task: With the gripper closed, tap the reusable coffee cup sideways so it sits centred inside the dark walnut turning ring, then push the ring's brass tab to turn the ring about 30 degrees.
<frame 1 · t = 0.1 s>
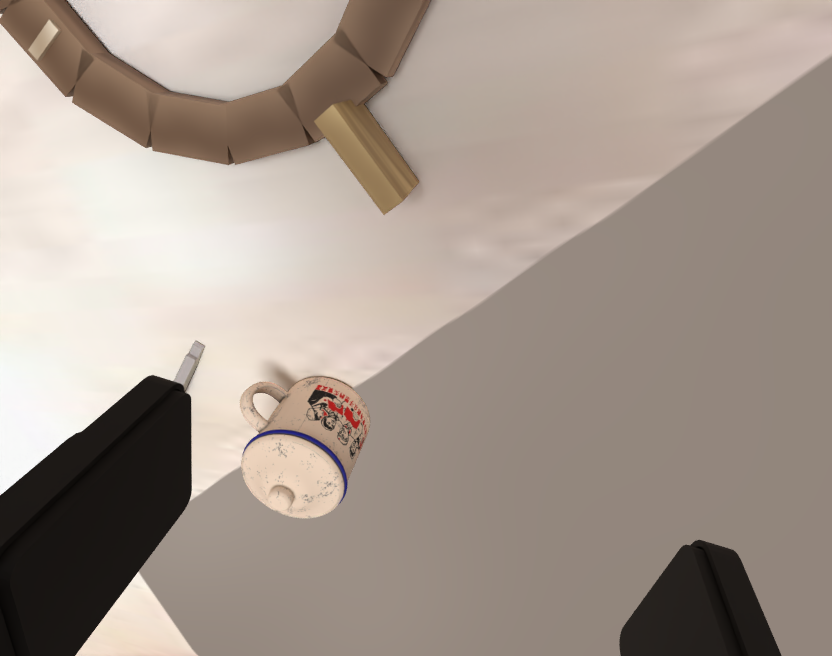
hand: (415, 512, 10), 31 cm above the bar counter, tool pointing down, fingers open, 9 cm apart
teacup with lid: (318, 401, 50), on the bar counter
caliper: (175, 409, 54), on the bar counter
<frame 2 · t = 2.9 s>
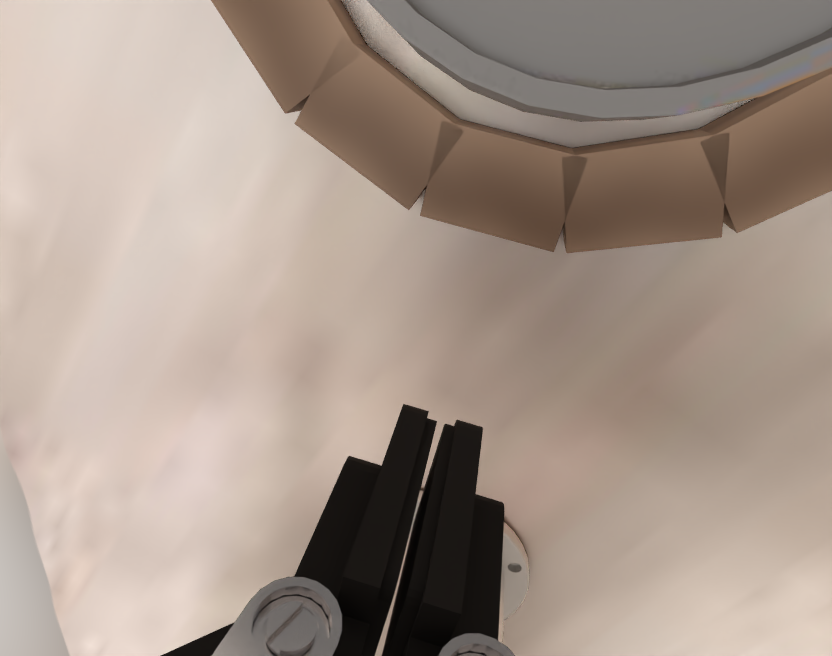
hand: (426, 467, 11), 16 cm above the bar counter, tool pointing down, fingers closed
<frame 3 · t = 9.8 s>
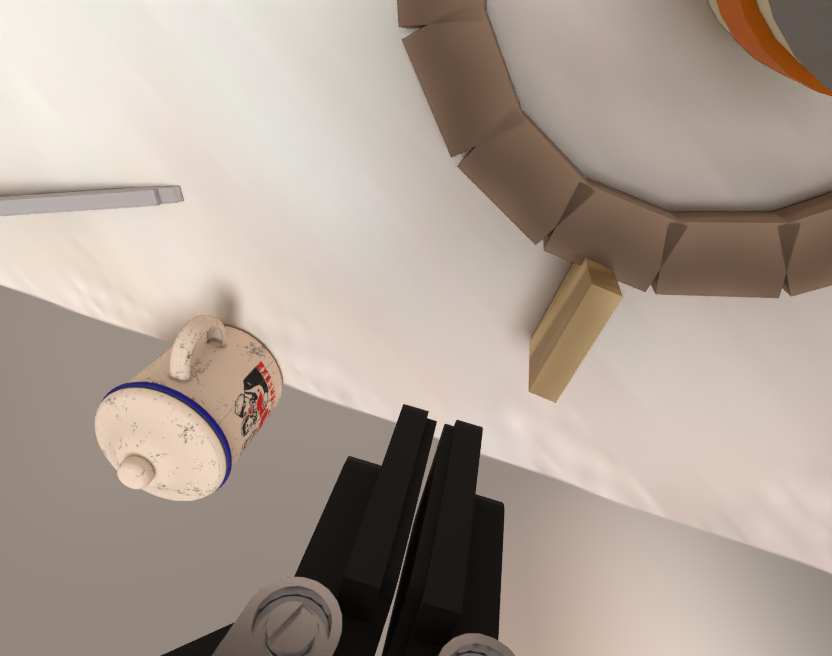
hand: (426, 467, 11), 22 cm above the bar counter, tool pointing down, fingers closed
teacup with lid: (234, 355, 39), on the bar counter
caliper: (58, 195, 36), on the bar counter
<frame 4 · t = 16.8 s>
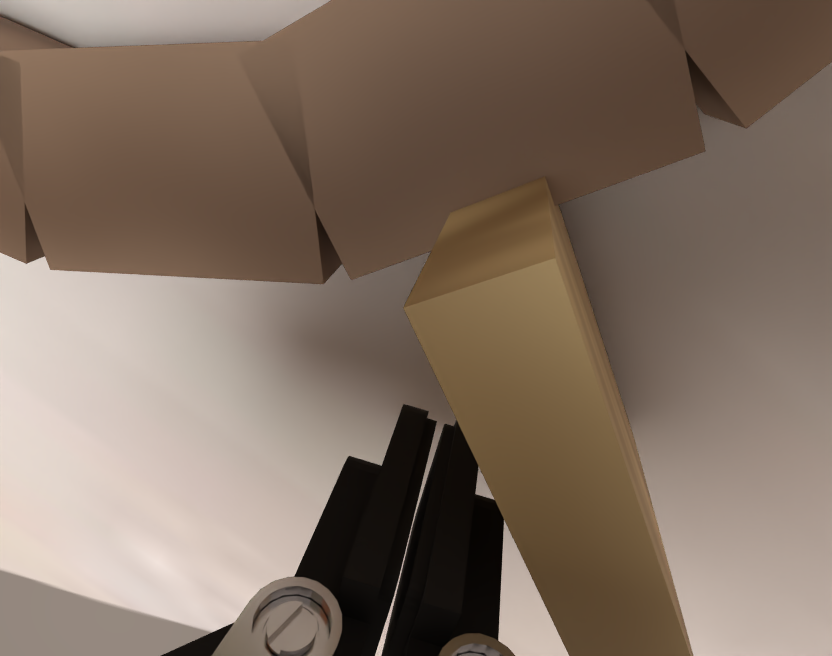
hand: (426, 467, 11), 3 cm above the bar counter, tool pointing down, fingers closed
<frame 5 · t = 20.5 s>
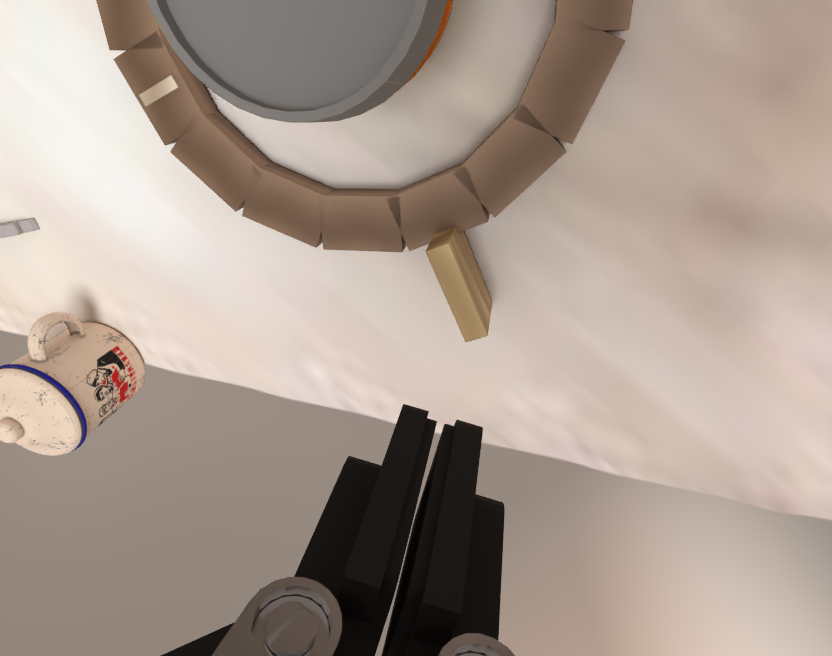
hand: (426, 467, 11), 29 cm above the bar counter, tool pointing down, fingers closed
teacup with lid: (105, 346, 50), on the bar counter
turning ring: (360, 39, 31), point 3 cm above the bar counter, hinge at 36.6°
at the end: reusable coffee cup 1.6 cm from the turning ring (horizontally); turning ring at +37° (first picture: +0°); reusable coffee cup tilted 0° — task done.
